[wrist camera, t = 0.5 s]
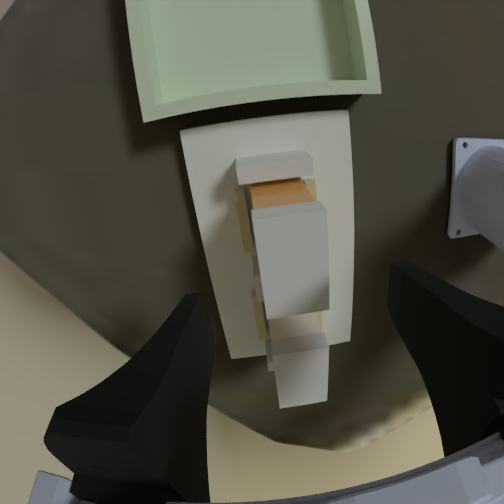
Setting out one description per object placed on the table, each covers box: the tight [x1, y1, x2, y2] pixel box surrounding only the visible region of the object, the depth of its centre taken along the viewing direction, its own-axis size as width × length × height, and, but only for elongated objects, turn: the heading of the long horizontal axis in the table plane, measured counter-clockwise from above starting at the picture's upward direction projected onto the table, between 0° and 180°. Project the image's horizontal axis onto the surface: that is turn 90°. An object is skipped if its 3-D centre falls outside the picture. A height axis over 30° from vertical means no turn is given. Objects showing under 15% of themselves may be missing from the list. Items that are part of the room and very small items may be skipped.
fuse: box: [268, 312, 329, 408], centre depth 20 cm, size 3×5×7 cm, turn 8°
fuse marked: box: [249, 177, 329, 319], centre depth 17 cm, size 3×5×7 cm, turn 8°
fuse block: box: [180, 109, 354, 371], centre depth 21 cm, size 10×18×4 cm, turn 8°
